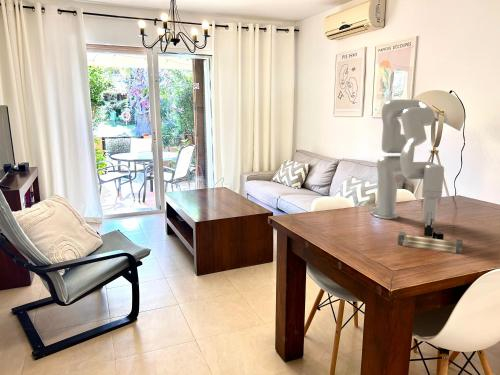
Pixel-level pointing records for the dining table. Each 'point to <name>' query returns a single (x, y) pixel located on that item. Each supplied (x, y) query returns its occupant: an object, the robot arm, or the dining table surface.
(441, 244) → the striped bar with caps
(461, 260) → the dining table surface
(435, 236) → the black block
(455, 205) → the dining table surface
